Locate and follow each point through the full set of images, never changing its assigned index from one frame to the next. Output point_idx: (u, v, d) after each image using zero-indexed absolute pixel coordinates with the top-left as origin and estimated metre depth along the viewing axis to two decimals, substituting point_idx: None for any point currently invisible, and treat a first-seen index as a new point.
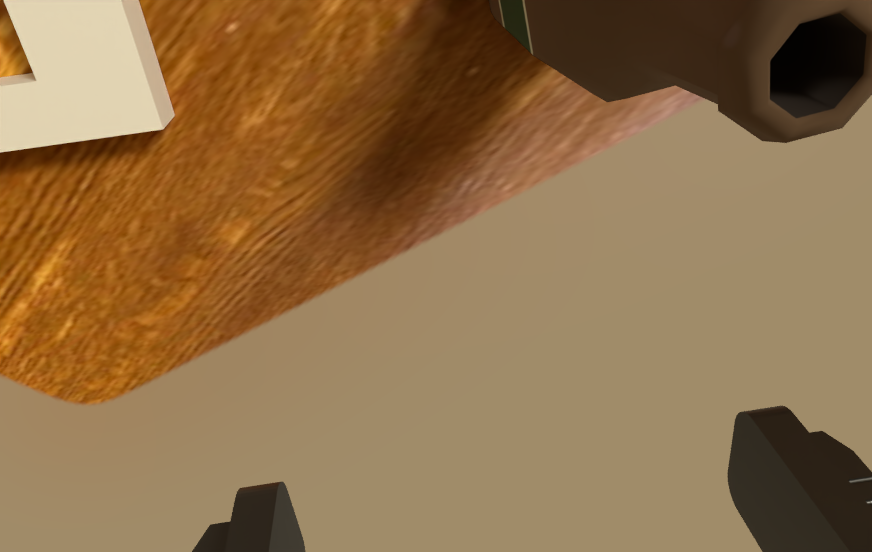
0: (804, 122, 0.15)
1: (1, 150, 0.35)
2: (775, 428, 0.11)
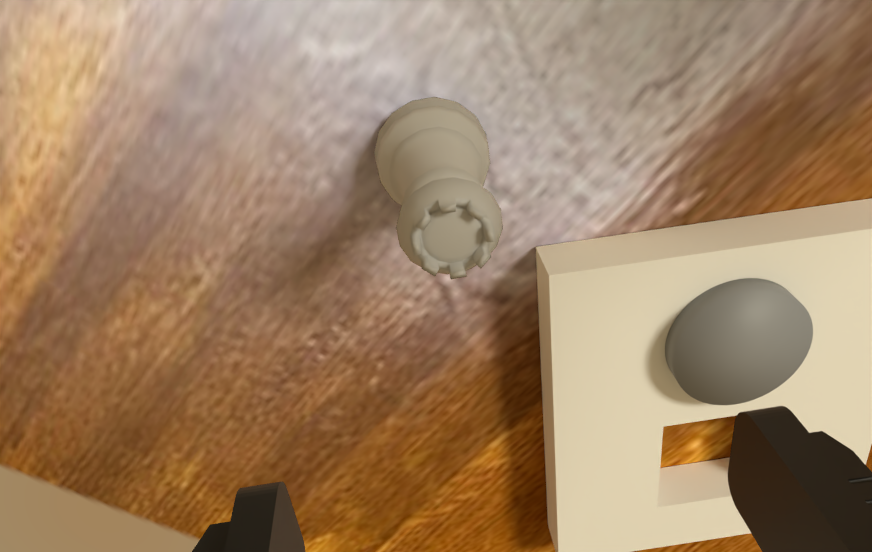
0: None
1: (700, 539, 0.36)
2: (775, 428, 0.11)
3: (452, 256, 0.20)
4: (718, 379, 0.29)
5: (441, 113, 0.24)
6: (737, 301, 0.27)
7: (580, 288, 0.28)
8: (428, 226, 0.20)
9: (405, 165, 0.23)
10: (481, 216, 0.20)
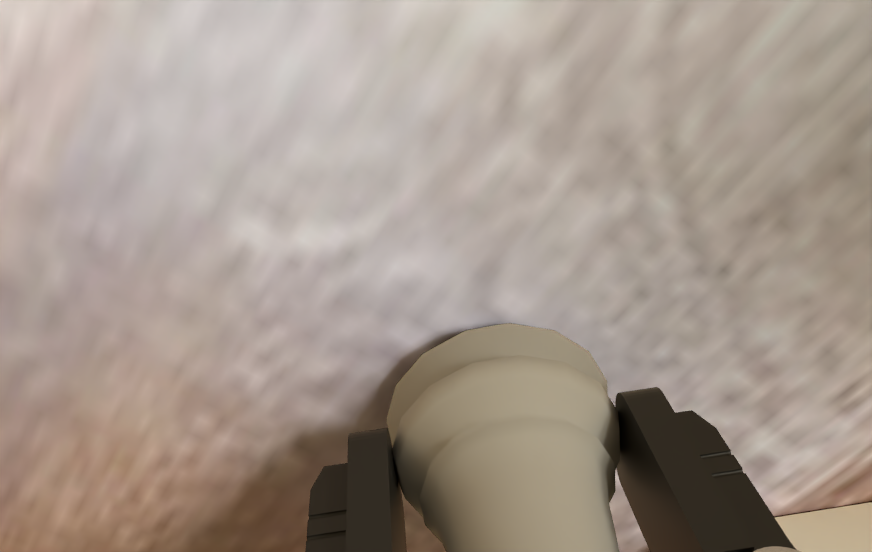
0: None
1: None
2: (644, 407, 0.12)
3: None
4: None
5: (531, 377, 0.11)
6: None
7: None
8: None
9: (460, 517, 0.10)
10: None
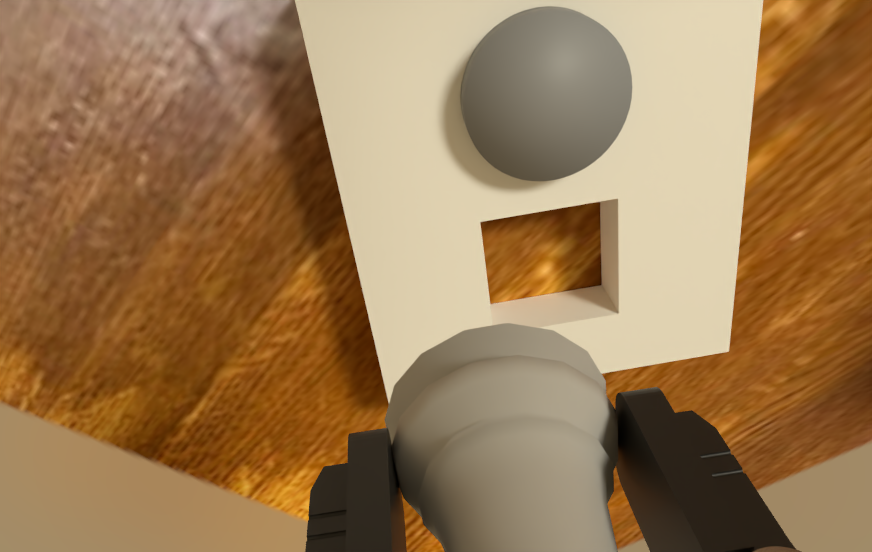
0: None
1: None
2: (644, 407, 0.12)
3: None
4: (525, 143, 0.24)
5: (529, 376, 0.11)
6: (527, 26, 0.22)
7: (338, 20, 0.23)
8: None
9: (458, 517, 0.10)
10: None
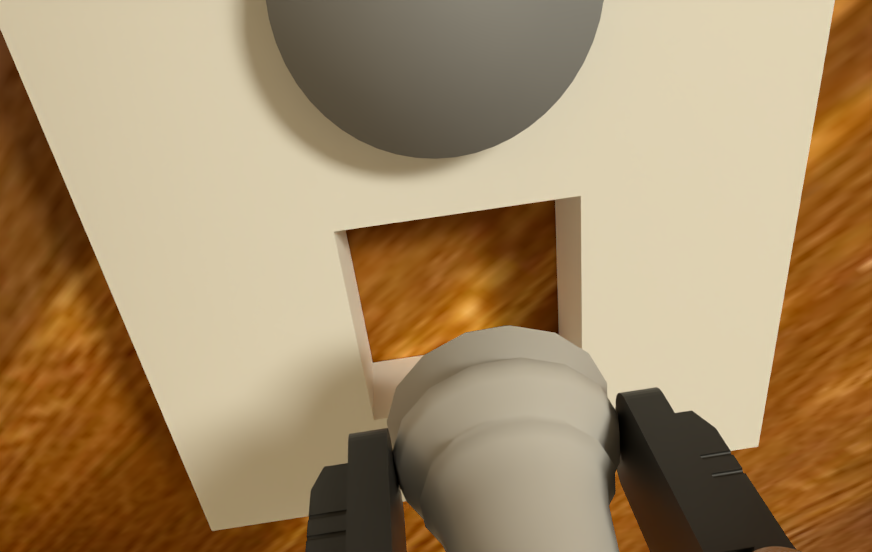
0: None
1: None
2: (644, 407, 0.12)
3: None
4: (397, 82, 0.13)
5: (531, 379, 0.11)
6: None
7: None
8: None
9: (461, 520, 0.10)
10: None
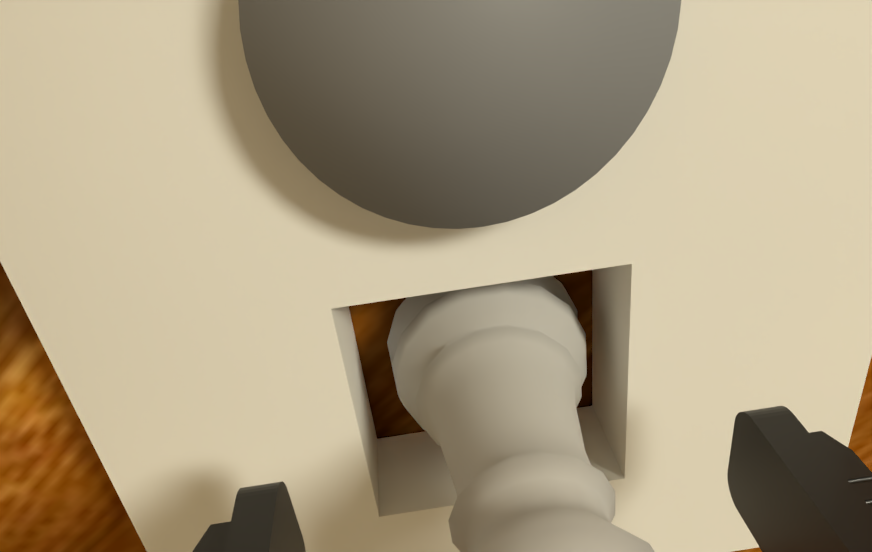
0: None
1: None
2: (775, 428, 0.11)
3: None
4: (411, 137, 0.10)
5: (511, 296, 0.14)
6: None
7: None
8: None
9: (450, 407, 0.13)
10: None
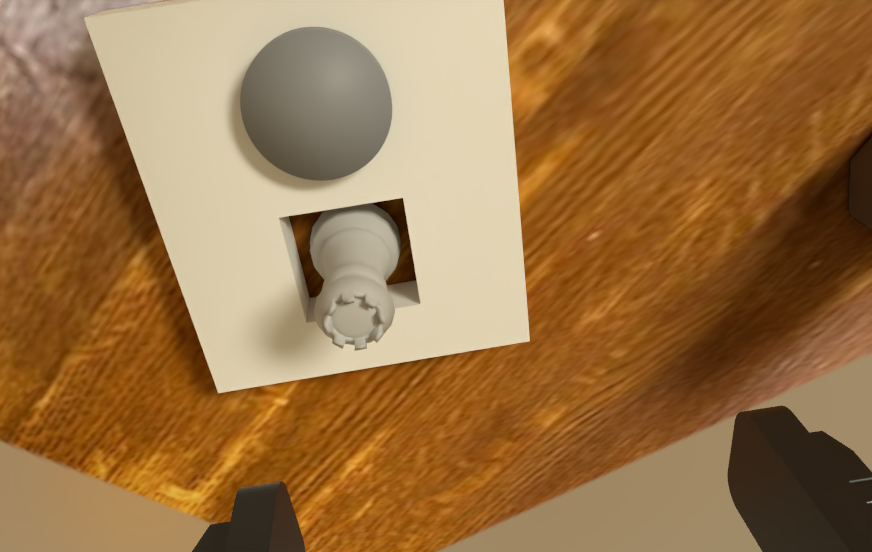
0: None
1: (369, 366, 0.34)
2: (775, 428, 0.11)
3: (356, 333, 0.27)
4: (302, 146, 0.28)
5: (358, 215, 0.31)
6: (288, 44, 0.26)
7: (125, 36, 0.26)
8: (336, 312, 0.27)
9: (328, 258, 0.30)
10: (374, 306, 0.26)
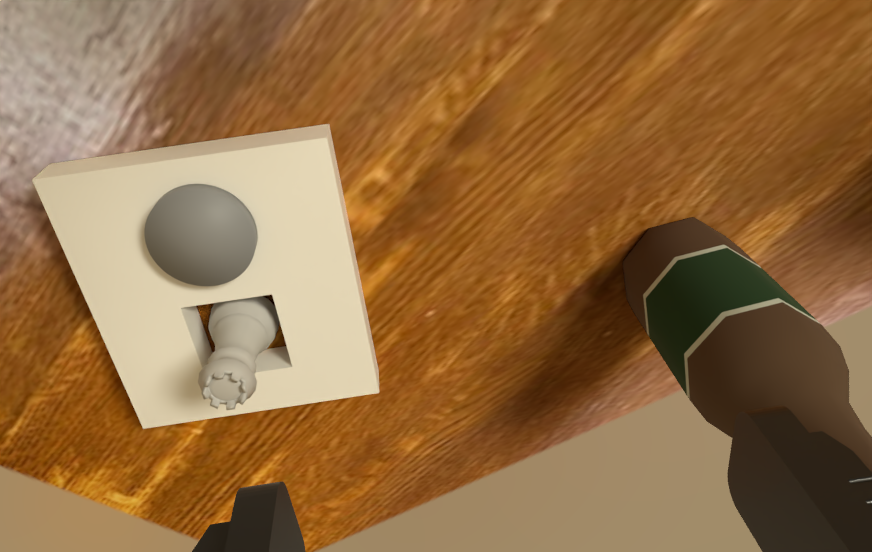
0: None
1: (257, 410, 0.46)
2: (775, 428, 0.11)
3: (227, 398, 0.38)
4: (191, 264, 0.39)
5: (242, 303, 0.42)
6: (176, 199, 0.37)
7: (62, 191, 0.37)
8: (211, 384, 0.38)
9: (217, 337, 0.41)
10: (237, 381, 0.37)
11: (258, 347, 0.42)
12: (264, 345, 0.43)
